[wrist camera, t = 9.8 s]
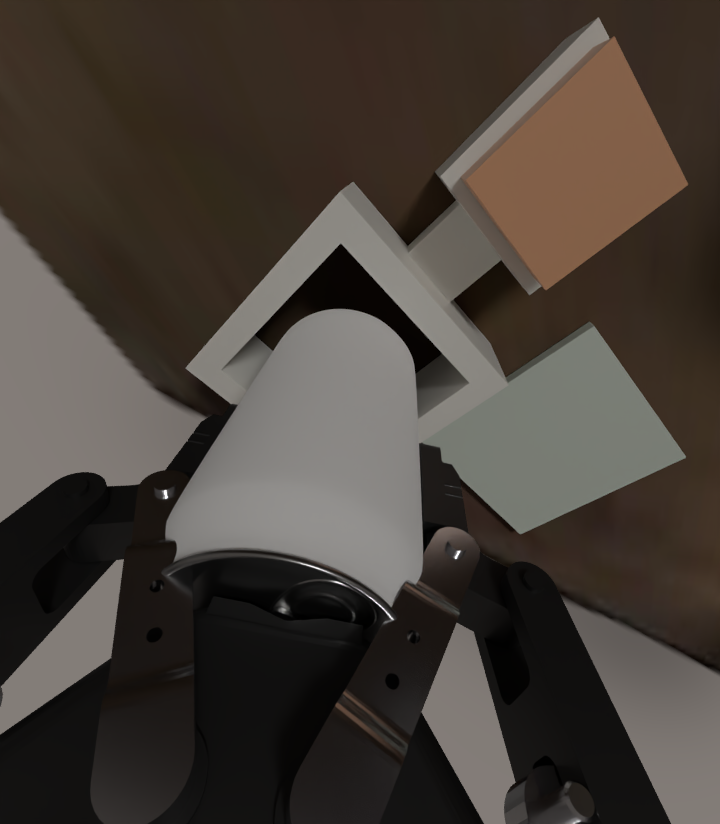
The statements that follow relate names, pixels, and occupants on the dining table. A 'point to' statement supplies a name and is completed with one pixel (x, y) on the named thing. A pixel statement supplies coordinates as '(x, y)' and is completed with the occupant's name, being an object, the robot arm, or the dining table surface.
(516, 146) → the light brown square block
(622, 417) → the pad
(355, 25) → the dining table surface
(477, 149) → the white piece
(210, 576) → the can
